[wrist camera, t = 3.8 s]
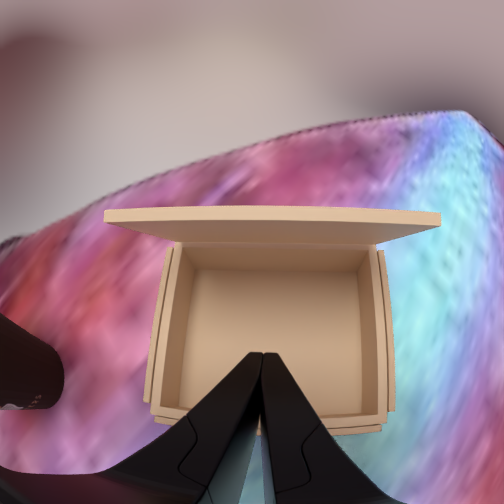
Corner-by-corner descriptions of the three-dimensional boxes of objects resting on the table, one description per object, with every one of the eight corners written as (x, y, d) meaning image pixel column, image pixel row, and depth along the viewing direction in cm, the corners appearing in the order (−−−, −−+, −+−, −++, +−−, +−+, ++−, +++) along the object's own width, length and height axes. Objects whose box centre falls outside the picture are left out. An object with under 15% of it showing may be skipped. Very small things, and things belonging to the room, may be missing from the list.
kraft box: (373, 424, 17) (394, 429, 13) (165, 417, 18) (141, 419, 15) (366, 267, 23) (382, 241, 19) (185, 264, 24) (169, 238, 21)
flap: (374, 244, 18) (441, 225, 10) (176, 241, 20) (103, 222, 11) (373, 235, 18) (440, 210, 10) (177, 232, 20) (104, 207, 11)
